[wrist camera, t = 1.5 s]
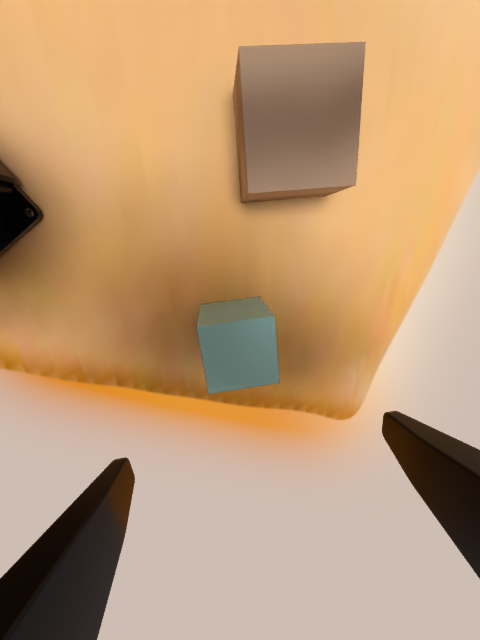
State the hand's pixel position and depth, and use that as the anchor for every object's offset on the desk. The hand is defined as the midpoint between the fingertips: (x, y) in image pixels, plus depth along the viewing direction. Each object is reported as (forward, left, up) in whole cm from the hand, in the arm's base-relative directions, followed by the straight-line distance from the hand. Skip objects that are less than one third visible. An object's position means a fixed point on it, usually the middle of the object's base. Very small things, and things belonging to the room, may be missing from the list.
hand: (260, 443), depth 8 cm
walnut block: (+10, +8, -12) cm, 17 cm away
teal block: (0, 0, -12) cm, 12 cm away
